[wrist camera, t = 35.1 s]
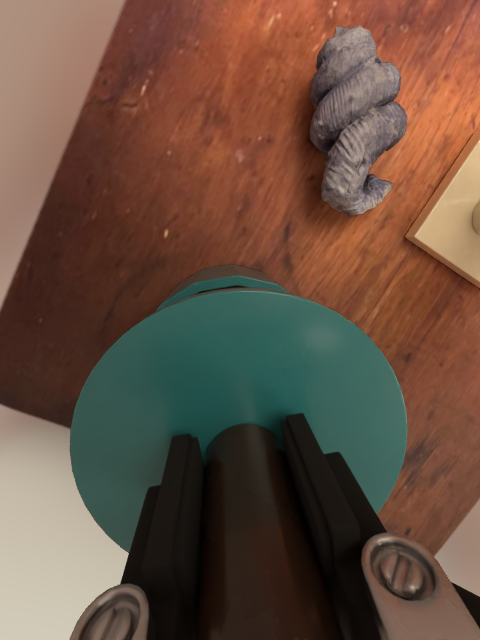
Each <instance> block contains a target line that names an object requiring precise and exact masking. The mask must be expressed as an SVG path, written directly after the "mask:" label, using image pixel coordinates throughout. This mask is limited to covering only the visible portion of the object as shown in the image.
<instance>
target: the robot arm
mask: <svg viewBox="0 0 480 640" xmlns="http://www.w3.org/2000/svg"><path fill="white" fill-rule="evenodd" d="M280 425H281V432H282V439H283V446H284V453H285V456H286V459H287V462H288V465H289V469H290V472H291V475H292V478H293V481H294V484H295V488H296V491H297V494H298V497H299V500H300V503H301V507H302V510H303V513H304V516H305V519H306V522H307V526H308V529H309V532H310V535H311V538H312V541H313V545H314V548H315V551H316V554H317V557H318V560H319V564H320V567H321V570H322V573H323V576H324V579H325V582H326V585H327V587H328V590H329V593H330V596H331V599H332V603H333V606H334V609H335V612H336V615H337V618H338V621H339V625H340V628H341V631H342V634H343V637H344V640H480V597H479V596H477V595H475V594H473V593H471V592H469V591H467V590H465V589H463V588H462V587H460V586H458V585H456V584H454V583H452V582H450V580H449V579H448V577H447V575H446V574H445V572H444V571H443V569H442V568H441V566H440V564H439V563H438V561H437V560H436V559H435V558H434V556H433V555H432V554H431V553H430V551H428V550H427V549H426V548H425V547H424V546H422V545H421V544H420V543H419V542H417V541H415V540H413V539H411V538H409V537H407V536H404V535H401V534H397V533H387V532H386V530H385V528H384V526H383V525H382V523H381V521H380V520H379V518H378V516H377V514H376V513H375V511H374V509H373V508H372V506H371V504H370V502H369V501H368V499H367V497H366V496H365V494H364V492H363V490H362V489H361V487H360V485H359V484H358V482H357V480H356V478H355V477H354V475H353V473H352V472H351V470H350V468H349V466H348V465H347V463H346V461H345V459H344V458H343V456H342V455H341V453H340V452H333V453H328V454H323V452H322V450H321V448H320V446H319V444H318V442H317V440H316V438H315V436H314V434H313V432H312V430H311V428H310V426H309V424H308V422H307V420H306V418H305V416H304V414H303V413H298V414H293V415H287V416H286V421H281V422H280ZM204 480H205V466H204V462H203V458H202V453H201V449H200V444H199V440H198V437H194V438H192V436H191V434H190V433H189V434H184V435H178V436H173V437H172V439H171V444H170V448H169V452H168V456H167V461H166V465H165V469H164V473H163V477H162V482H161V485H157V486H152V487H149V489H148V490H147V493H146V496H145V500H144V503H143V507H142V510H141V514H140V517H139V521H138V524H137V528H136V531H135V534H134V538H133V541H132V545H131V548H130V552H129V555H128V559H127V562H126V566H125V569H124V573H123V576H122V580H121V583H120V585H117V586H115V587H113V588H110V589H108V590H106V591H105V592H104V593H102V594H101V595H100V596H98V597H97V598H96V599H95V600H94V601H93V602H92V603H91V604H90V605H89V606H88V607H87V608H86V610H85V611H84V612H83V614H82V615H81V617H80V618H79V620H78V621H77V623H76V626H75V628H74V630H73V632H72V635H71V637H70V640H195V638H196V621H197V603H198V586H199V568H200V550H201V533H202V515H203V498H204Z"/></svg>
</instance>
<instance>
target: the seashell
mask: <svg viewBox="0 0 480 640" xmlns="http://www.w3.org/2000/svg"><path fill="white" fill-rule="evenodd" d="M376 48H377V46H376V42H374V41H373V37H372V35H371V33H370V31H369V30H368V29H363V28H362V27H361V26H359V25H358V26H355V27H353V28H351V29H348V28H345V27H336V31H335V35H334V37H333V38H328V39H327V41H326V42H325V44H324V45H323V47H322V49H321V50H320V52H319V54H318V56H317V64H316V68H317V70H318V71H317V72H316V73H315V74H314V76H313V79H312V82H311V88H310V99H311V102H312V105H313V107H314V108H315V109H316V110H315V113H314V114H313V117H312V120H311V127H310V141H311V142H312V143H313V144H314V145H315V146H316V147H317V148H318V149H319V151H320V152H321V153H323V154H326V155H328V160H327V162H326V167H325V173H324V174H323V178H324V179H323V180H322V183H323V184H322V185H321V195H322V196H321V197H322V199H323V201H324V202H326V203H328V204H329V206H330V207H332V208H333V209H335V210H336V211H338V212H341V213H345V214H347V215H349V216H351V215H355V214H363V213H364V212H365V211H367V210H369V209H372V208H374V207H375V206H376V205H378V204H379V203H381V202H382V200H383V199H384V197H385V196H386V195H387V194H388V193H389V191H390V190H391V189H392V187H393V184H392V183H391V182H389V181H386V180H381V179H378V178H377V177H376V176H374V175H373V174H369V175H367V174H368V172H369V170H370V168H371V165H372V164H373V163H374V162H375V161H376V160H377V158H378V157H379V156H380V155H381V154H382V153H383V152H384V151H388V150H389V149H391V148H392V147H393V146H394V145H395V144H397V143H398V142H399V140H400V139H401V138H402V137H403V136H404V134H405V132H406V125H407V115H406V113H405V110H404V109H403V108H402V107H401V105H400V104H398V103H397V102H394V101H393V100H394V99H395V98H396V97H397V95H398V93H399V90H400V84H401V76H400V71H399V70H398V69H397V67H396V66H395V65H394V64H393V63H390V62H383V61H382V60H381V59H380V57H379V56H377V54H376Z"/></svg>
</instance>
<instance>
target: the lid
mask: <svg viewBox="0 0 480 640" xmlns="http://www.w3.org/2000/svg"><path fill="white" fill-rule="evenodd" d="M298 413H303V414H304V416H305V418H306V420H307V422H308V424H309V426H310V428H311V430H312V432H313V434H314V436H315V438H316V440H317V442H318V444H319V446H320V448H321V450H322V452H323V454H328V453H333V452H340V453H341V455H342V456H343V458H344V459H345V461H346V463H347V465H348V466H349V468H350V470H351V472H352V473H353V475H354V477H355V478H356V480H357V482H358V484H359V485H360V487H361V489H362V490H363V492H364V494H365V496H366V497H367V499H368V501H369V502H370V504H371V506H372V508H373V509H374V511H375V513H376V514H378V512H379V511H380V509H381V508H382V506H383V505H384V503H385V502H386V500H387V499H388V497H389V495H390V493H391V491H392V489H393V487H394V485H395V483H396V481H397V479H398V476H399V473H400V470H401V467H402V465H403V461H404V456H405V451H406V445H407V429H408V425H407V414H406V406H405V402H404V398H403V394H402V390H401V387H400V385H399V382H398V380H397V378H396V375H395V373H394V371H393V369H392V367H391V366H390V364H389V362H388V361H387V359H386V357H385V356H384V354H383V353H382V351H381V350H380V349H379V348H378V347H377V346H376V344H375V343H374V342H373V341H372V340H371V339H370V337H369V336H367V335H366V334H365V333H364V332H363V331H362V330H361V329H359V328H358V327H357V326H356V325H355V324H354V323H352V322H351V321H349V320H348V319H346V318H345V317H343V316H342V315H340V314H338V313H337V312H335V311H334V310H332V309H330V308H328V307H326V306H324V305H322V304H320V303H317V302H315V301H313V300H311V299H309V298H305V297H302V296H299V295H295V294H292V293H289V292H284V291H278V290H271V289H265V288H231V289H221V290H213V291H209V292H205V293H201V294H197V295H192V296H189V297H187V298H184V299H181V300H179V301H176V302H174V303H171V304H168V305H166V306H165V307H163V308H161V309H159V310H157V311H155V312H154V313H152V314H150V315H148V316H146V317H145V318H144V319H142V320H141V321H140V322H138V323H137V324H136V325H134V326H133V327H131V328H130V329H129V330H128V331H126V332H125V333H124V334H123V335H122V336H121V337H120V338H119V339H118V340H117V341H116V342H115V343H114V344H113V345H112V346H111V347H110V348H109V349H108V350H107V351H106V352H105V354H104V355H103V356H102V358H101V359H100V360H99V362H98V363H97V364H96V365H95V367H94V368H93V370H92V371H91V373H90V375H89V377H88V379H87V380H86V382H85V384H84V386H83V388H82V390H81V393H80V396H79V398H78V401H77V404H76V406H75V410H74V415H73V420H72V425H71V433H70V456H71V464H72V471H73V474H74V478H75V482H76V485H77V488H78V490H79V493H80V495H81V497H82V500H83V502H84V504H85V506H86V508H87V509H88V511H89V512H90V514H91V515H92V517H93V518H94V520H95V521H96V523H97V524H98V525H99V526H100V527H101V528H102V529H103V531H104V532H105V533H106V534H107V535H108V536H109V537H110V538H111V539H112V540H113V541H114V542H116V543H117V544H118V545H119V546H120V547H121V548H122V549H124V550H125V551H127V552H128V553H129V552H130V548H131V545H132V541H133V538H134V534H135V531H136V528H137V524H138V521H139V517H140V514H141V510H142V507H143V503H144V500H145V496H146V493H147V490H148V489H149V487H152V486H157V485H161V482H162V477H163V473H164V469H165V465H166V461H167V456H168V452H169V448H170V444H171V439H172V437H173V436H178V435H184V434H189V433H190V434H191V436H192V438H194V437H198V440H199V444H200V449H201V453H202V458H203V462H204V466H205V480H204V498H203V515H202V533H201V550H200V568H199V586H198V603H197V621H196V638H195V640H344V637H343V634H342V631H341V628H340V625H339V621H338V618H337V615H336V612H335V609H334V606H333V603H332V599H331V596H330V593H329V590H328V587H327V585H326V582H325V579H324V576H323V573H322V570H321V567H320V564H319V560H318V557H317V554H316V551H315V548H314V545H313V541H312V538H311V535H310V532H309V529H308V526H307V522H306V519H305V516H304V513H303V510H302V507H301V503H300V500H299V497H298V494H297V491H296V488H295V484H294V481H293V478H292V475H291V472H290V469H289V465H288V462H287V459H286V456H285V453H284V446H283V439H282V432H281V425H280V422H281V421H286V416H287V415H293V414H298Z"/></svg>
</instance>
